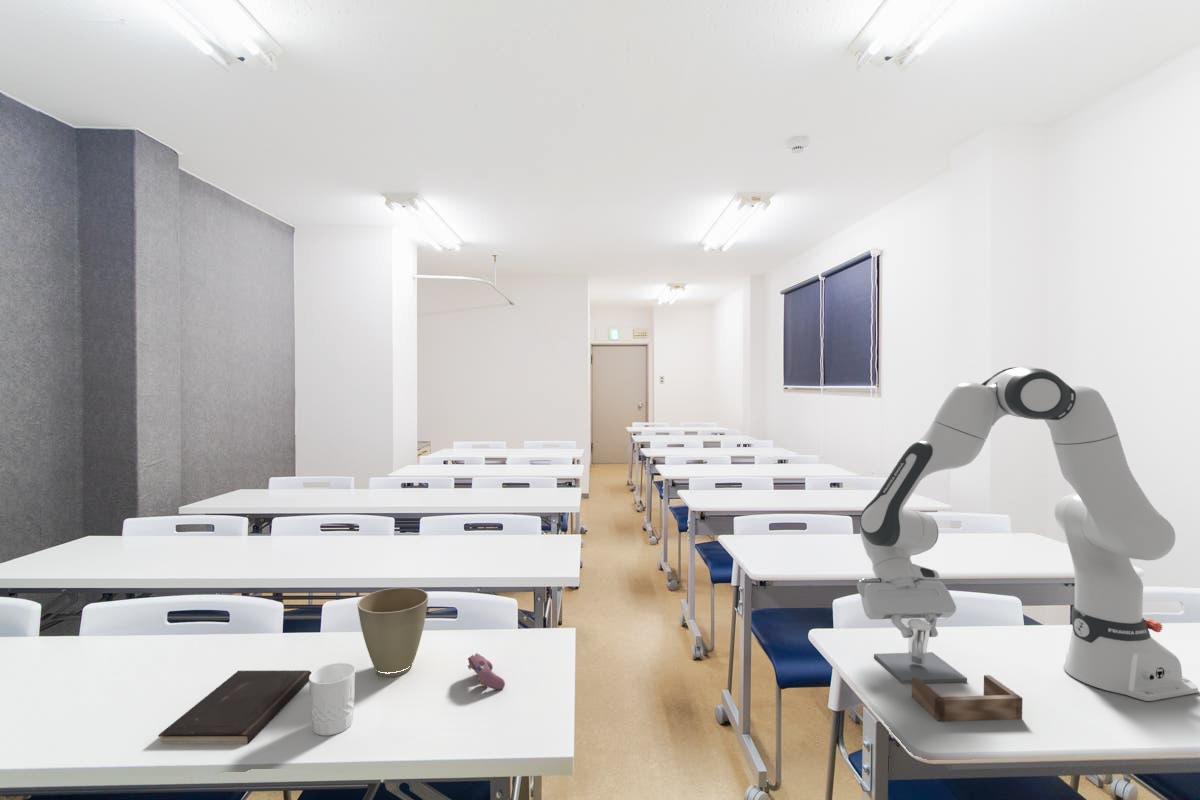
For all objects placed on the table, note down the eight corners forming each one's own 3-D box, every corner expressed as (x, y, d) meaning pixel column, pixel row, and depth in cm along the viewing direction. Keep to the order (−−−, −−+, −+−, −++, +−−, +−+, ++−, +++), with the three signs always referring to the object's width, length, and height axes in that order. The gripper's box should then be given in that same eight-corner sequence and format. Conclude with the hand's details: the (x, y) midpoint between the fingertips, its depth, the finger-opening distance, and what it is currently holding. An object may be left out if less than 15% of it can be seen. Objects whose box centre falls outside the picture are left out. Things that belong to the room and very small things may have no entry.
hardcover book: (158, 747, 104) (158, 734, 103) (238, 680, 127) (238, 670, 126) (248, 747, 104) (248, 734, 104) (312, 680, 127) (312, 670, 127)
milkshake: (935, 667, 127) (938, 622, 127) (908, 664, 128) (911, 619, 128) (928, 658, 132) (931, 614, 131) (902, 655, 133) (905, 611, 133)
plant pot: (342, 679, 126) (341, 606, 125) (390, 649, 140) (389, 584, 139) (399, 692, 121) (398, 616, 120) (442, 660, 135) (441, 591, 134)
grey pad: (932, 655, 136) (932, 652, 136) (967, 681, 124) (967, 678, 124) (874, 657, 136) (874, 653, 136) (903, 683, 124) (903, 680, 124)
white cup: (343, 708, 115) (342, 658, 114) (364, 723, 110) (363, 671, 109) (302, 727, 109) (301, 674, 108) (322, 743, 104) (321, 688, 103)
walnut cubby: (989, 694, 120) (989, 675, 119) (1022, 718, 111) (1022, 698, 111) (911, 696, 119) (911, 677, 119) (938, 721, 110) (938, 700, 110)
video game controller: (475, 680, 129) (460, 655, 127) (493, 666, 131) (479, 642, 129) (488, 701, 120) (473, 675, 118) (507, 687, 122) (493, 661, 120)
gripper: (859, 572, 136) (880, 632, 126) (944, 570, 137) (972, 629, 127) (849, 585, 140) (870, 643, 131) (932, 583, 141) (958, 640, 132)
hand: (921, 636), depth 129 cm, fingers closed on milkshake, 4 cm apart
